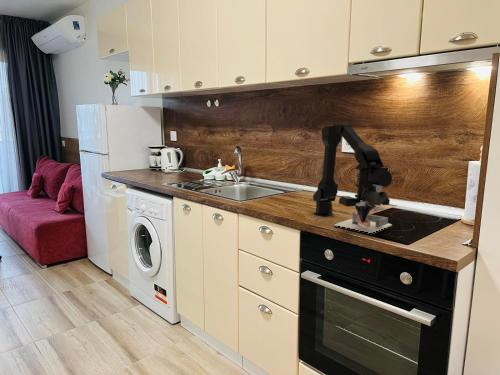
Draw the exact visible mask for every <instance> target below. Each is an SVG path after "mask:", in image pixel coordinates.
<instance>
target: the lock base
mask: <svg viewBox="0 0 500 375" xmlns="http://www.w3.org/2000/svg"><path fill="white" fill-rule="evenodd" d="M366 219H368V220H370V221H371V222H370V227H365V226H364V225H362V224H360V223H358V224H353V223H352V218H349V219H346V220H343V221H339V222H337V223H334V227H338V226H340V227H339V228H342V227H345V228H344V229H347V228H350V229H349V230H351V229H355V230H359V231H358V232H360V231H364V232H368V233H367V234H369V233H373V232H375V233H377V232H376V231H378V232H380V231H382V230H381V229H383V230H385V229H388V228H389V227H392V226H393V224H391V223H389V217H386V216H380V215H375V214H371V213H368V215H367V217H366ZM384 228H385V229H384ZM355 230H354V231H355ZM379 230H380V231H379ZM364 232H363V233H364ZM373 234H374V233H373Z"/></svg>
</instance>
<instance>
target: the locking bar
mask: <svg viewBox="0 0 500 375" xmlns="http://www.w3.org/2000/svg"><path fill="white" fill-rule="evenodd" d="M351 216H352V218H351V219H352V223H353V224H358V223H360V224H362V225H364V226H365V227H370V222H371V221H370V220H368V219H365V221H364V223H362V222H361V220H360V217H359V215H358V212H356V211H353V212H352V215H351Z"/></svg>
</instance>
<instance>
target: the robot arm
mask: <svg viewBox="0 0 500 375" xmlns="http://www.w3.org/2000/svg"><path fill="white" fill-rule="evenodd" d="M342 137H343V138H342ZM342 139H344V141H345V142H346V143H347V144H348V145H349V147H350V148H351V149H352V150H353V154H354V155H353V156H354V158H355V160H356V162H357V163H358V165H357V166H355V169H356V170H358V178H357V179H358V180H357V183H355V187H356V188H357V191H356V194H354V197H352V196H349V195H342V196H340V198H339V199H338V204H339V205H343V206H344V207H354V208H355V211H356V210H357V212H358V215H359V217H360V220H361V222H362V223H364V221H365V219H366V217H367V215H368V214H370V211H372V210H371V209H372V208H375V207H376V208H377V206H378V207H380V206H381V205H382V206H389V205H390V203H391V202H390V201H391V200H390V198H389V197H388V194H387V192H386V191H380V192H376V186H374V185H379V186H382V188H386V187H388V186H390V185H391V183H392V181H393V176H392V174H391V172H390V171H389V167H387V166H384V164H383V163H384V162H383V161H382V159H381V156H380V153H379V151H378V149H376V148H375V147H373V146H372V145H370V144H367V143H366V142H365V141H364V140H363V139H362V138H361V137H360V135H359V134H358V133H357V132H356V131H355V130H354V129H353V127H352V125H351V124H350V123H339V124H335V125H324V126H323V127H322V129H321V141H322V143H323V145H324V155H323V156H324V157H323V166H322V167H323V168H322V178H321V180H320V181H319V182H318V185H317V189H316V191H315V192H314V193H313V195H312V200H313V201H314V202H315V204H316V205H315V212H313V214H314V215H318V216H322V217H328V216H331V215H332V216H333V215H334V213H333V204H332V202H335V201H336V198H337V195H338V187H339V184H338V183H336V182H335V171H336V170H335V169H336V162H337V159H336V158H337V150H338V149H337V148H338V146H339V144H340V143H341V142H342Z"/></svg>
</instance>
